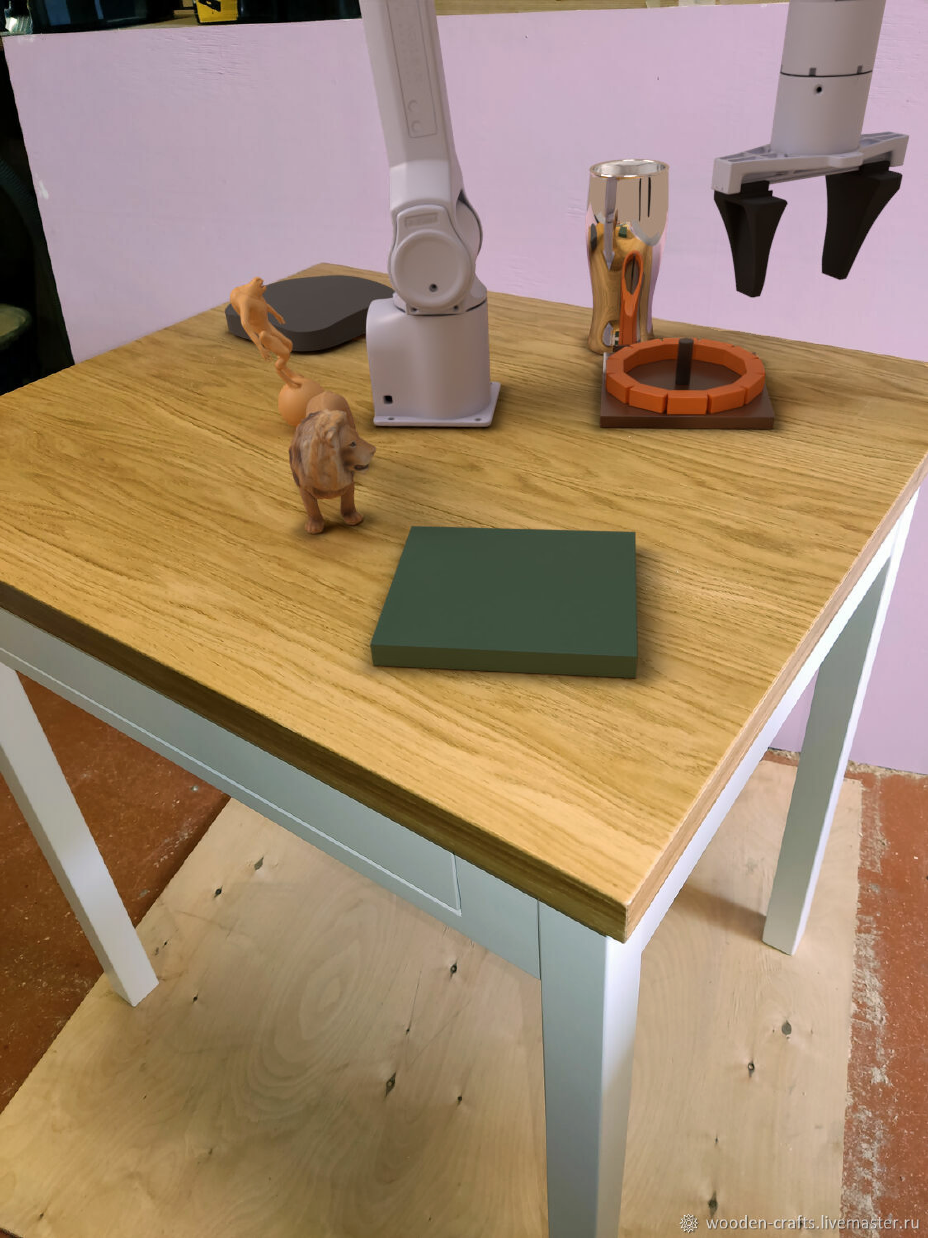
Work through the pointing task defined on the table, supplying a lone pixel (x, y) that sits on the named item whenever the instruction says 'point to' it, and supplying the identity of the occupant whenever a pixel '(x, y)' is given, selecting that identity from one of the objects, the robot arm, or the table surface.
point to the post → (684, 377)
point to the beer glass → (625, 248)
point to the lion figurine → (328, 458)
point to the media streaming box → (317, 309)
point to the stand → (512, 602)
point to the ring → (685, 399)
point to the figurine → (274, 349)
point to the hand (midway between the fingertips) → (791, 284)
